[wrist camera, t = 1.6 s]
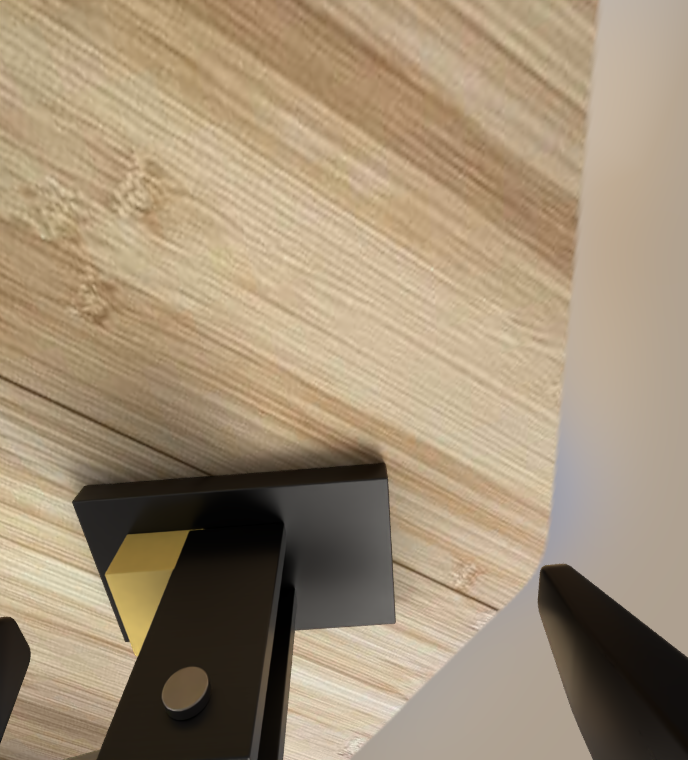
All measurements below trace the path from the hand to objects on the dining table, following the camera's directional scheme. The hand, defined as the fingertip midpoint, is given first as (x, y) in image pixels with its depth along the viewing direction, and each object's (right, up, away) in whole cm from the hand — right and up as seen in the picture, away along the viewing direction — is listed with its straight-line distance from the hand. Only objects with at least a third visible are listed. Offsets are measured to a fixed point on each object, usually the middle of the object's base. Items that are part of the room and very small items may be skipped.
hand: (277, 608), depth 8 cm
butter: (-7, -5, +15) cm, 17 cm away
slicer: (-4, -5, +16) cm, 17 cm away
